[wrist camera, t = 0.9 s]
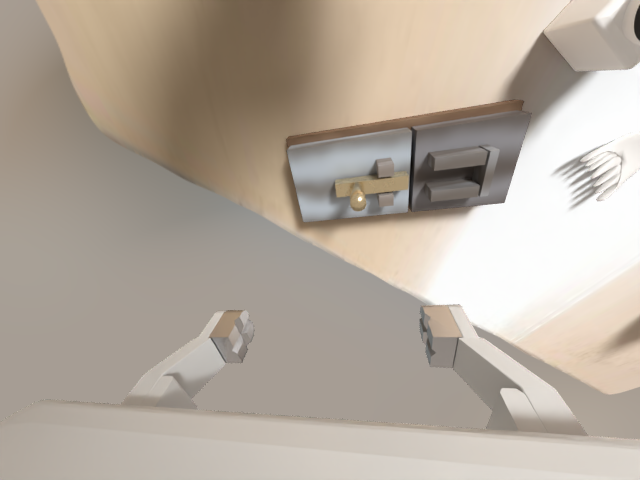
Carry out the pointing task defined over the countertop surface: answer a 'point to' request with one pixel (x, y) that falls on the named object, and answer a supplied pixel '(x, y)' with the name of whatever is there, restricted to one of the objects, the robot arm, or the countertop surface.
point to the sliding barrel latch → (412, 161)
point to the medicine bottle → (598, 34)
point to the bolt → (369, 187)
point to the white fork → (614, 163)
